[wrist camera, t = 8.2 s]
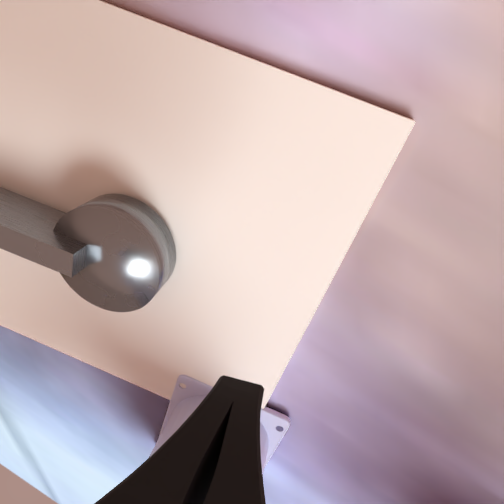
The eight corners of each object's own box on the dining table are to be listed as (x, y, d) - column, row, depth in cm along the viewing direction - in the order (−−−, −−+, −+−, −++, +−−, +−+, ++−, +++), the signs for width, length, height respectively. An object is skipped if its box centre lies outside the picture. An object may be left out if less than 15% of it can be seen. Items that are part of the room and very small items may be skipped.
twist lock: (186, 217, 19) (158, 244, 17) (166, 306, 22) (139, 341, 19) (-38, 131, 20) (-100, 142, 17) (-29, 227, 23) (-81, 250, 20)
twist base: (251, 429, 26) (249, 436, 26) (-26, 307, 28) (-33, 311, 27) (414, 119, 16) (416, 121, 15) (-53, -59, 17) (-66, -63, 16)
